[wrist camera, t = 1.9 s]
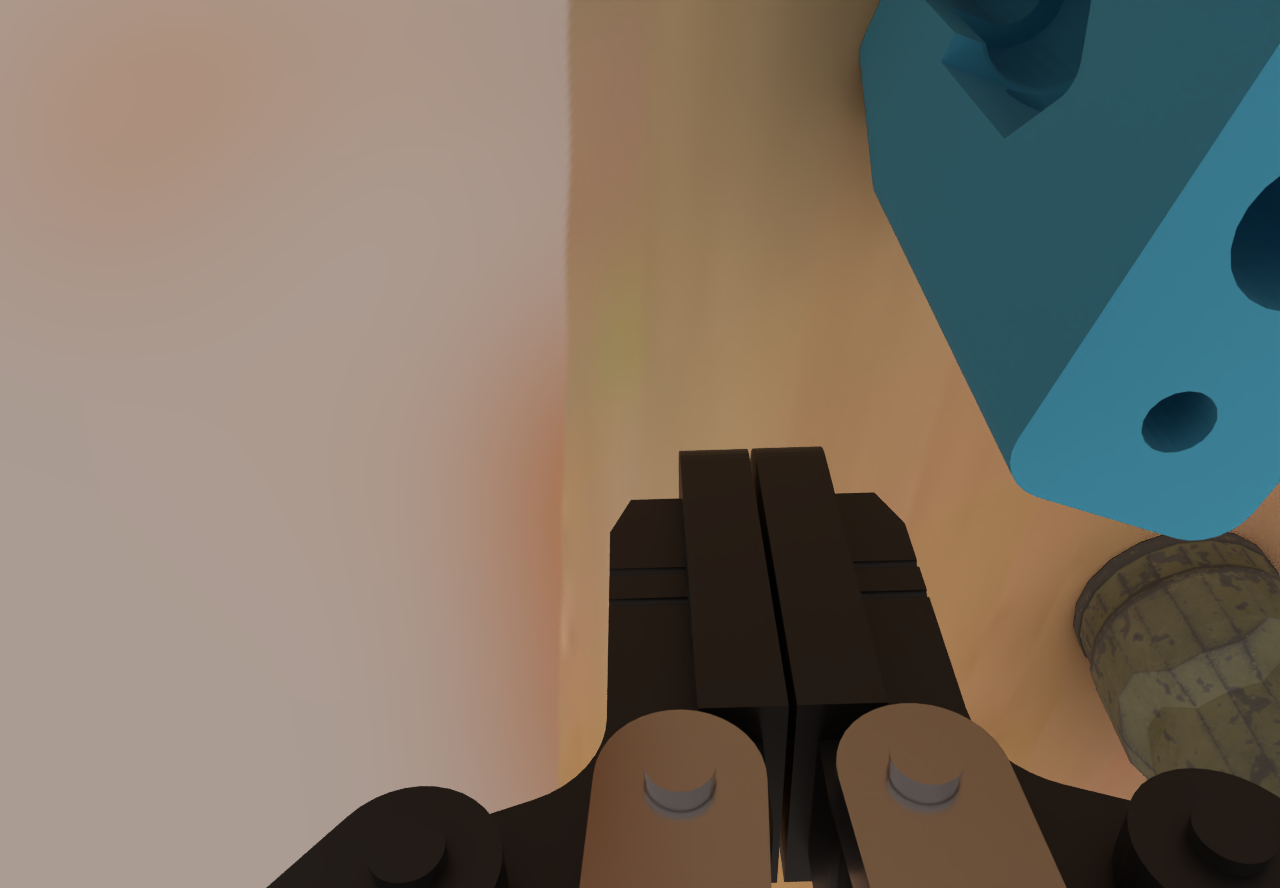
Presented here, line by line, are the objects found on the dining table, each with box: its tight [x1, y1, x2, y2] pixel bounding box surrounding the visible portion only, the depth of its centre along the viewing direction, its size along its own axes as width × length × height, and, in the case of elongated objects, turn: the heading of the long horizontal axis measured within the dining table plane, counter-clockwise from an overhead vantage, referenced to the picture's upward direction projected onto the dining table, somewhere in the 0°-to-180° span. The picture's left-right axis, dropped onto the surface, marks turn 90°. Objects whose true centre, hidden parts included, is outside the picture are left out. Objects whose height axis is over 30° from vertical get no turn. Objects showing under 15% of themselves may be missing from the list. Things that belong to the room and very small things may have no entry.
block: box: [860, 0, 1280, 541], centre depth 26 cm, size 12×5×20 cm, turn 160°
